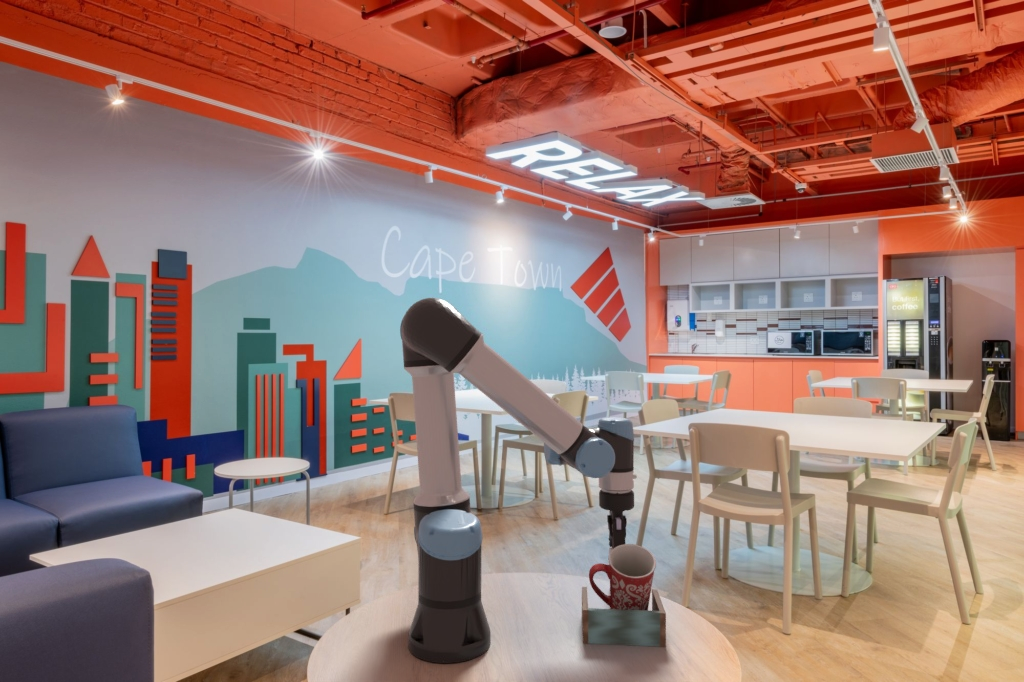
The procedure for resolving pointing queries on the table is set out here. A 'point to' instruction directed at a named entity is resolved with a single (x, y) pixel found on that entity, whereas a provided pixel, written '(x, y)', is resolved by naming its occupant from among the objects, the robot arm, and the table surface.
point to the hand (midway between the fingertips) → (617, 588)
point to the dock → (624, 624)
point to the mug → (627, 577)
